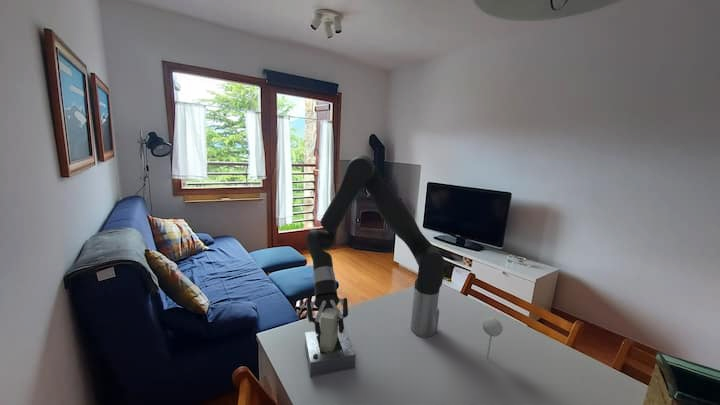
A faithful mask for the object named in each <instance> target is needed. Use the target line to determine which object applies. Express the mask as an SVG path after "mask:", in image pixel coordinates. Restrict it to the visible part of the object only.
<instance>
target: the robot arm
mask: <svg viewBox="0 0 720 405" xmlns="http://www.w3.org/2000/svg"><path fill="white" fill-rule="evenodd" d="M346 166H347V167H346V170H345V173H344V176H343V178H342V179H343V180H342V182H341V184H340V187H339V188H338V190H337V192H336V193H335V196H334V197H333V199H332V200H331V202H330V203H329V205H328V207H327V209H325V212H324V214H323V216H322V217H321V219H320V225H321V227H322V228H323V229H325V230H321V229H310V230H309V231H308V232H307V234H306V238H305V242H306V246H307V250H308V251H309V254H310V257H311V259H312V268H313V286H314V289H313V290H314V301H311V302H310V301H306V305H305V307H306V312H307V320H308V322H309V323H313V324H314V331H315V333H316V334H317V335H318V336H320V335H321V332H320V317H321V315H322V314H323V312H324V310H325V309H327V308H334V309H338V327H339V333H341V332H343V330H344V327H345V324H344V319H345V318H347V317H348V315H349V306H348V298H347V297H344V298H339V296H338V291H337V290H338V289H337V282H336V276H335V275H336V274H335V271H334V270H335V269H334V266H333V256H332V255H331V254H330V253H329V252H327V251H328V250H330V249H331V248H332V247H333V246H334V244H335V241H336V238H337V233H338V229H339V227H340V225H341V224H342V222H343V220H344V218H345V217H346V215H347V213H348V211H349V209H350V207H351V205H352V203H353V201H354V199H355V198H356V196H357V195H358V193H360V191H361V190H362V188H364V189H365V190H366V191H367V193H368V194H369V195H370V197H371V199H372V201H373V203H374V206H375V208H376V210H377V212H378V213H379V216H381V218H382V220H383V221H384V223H386V225H387V226H388V228H389V229H390V230H391V231H392V232H393V233H394V234H395V235H396V236H397V237H398V238H399V239H400V240H401V241H403V242H404V244H405V245H406V246H407V248H408V249H409V251H410V252H411V255H412V256H413V257H414V259H415V262H416V264H417V265H418V266H417V267H418V270H417V271H418V273H417V278H416V279H415V281H414V287H413V288H414V289H413V298H412V308H411V310H412V311H411V320H410V330H411V331H412V333H413V334H415V335H416V336H418V337H422V338H429V337H432V336H434V335H435V333H438V326H439V317H440V309H439V296H440V289H441V287H442V286H443V280H444V272H445V268H446V267H445V266H446V264H445V258H444V257H443V255H442V254H441V252H440V251H439V250H438V249H437V248H436V247H435V246H434V245H433V244H432V243H431V242H430V240H428V238H426V236H425V235H424V234H423V232H422V231H421V230H420V228H419V226H418V224H417V222H416V220H415V218H414V217H413V215H412V214H411V212H410V211H409V209H408V208H407V207H406V205H405V204H404V203H403V201H402V200H401V199H400V197H399V196H398V195H397V194H396V193H395V192H394V190H393V189H392V188H391V187H390V186H389V185H388V184H387V182H386V181H385V179H384V178H383V177H382V175H381V173H380V172H379V170H378V168H377V166H376V165H375V163H374V161H373V160H372V158H371V157H369V156H367V155H365V154H360V155H359V154H357V155H356V156H355V157H353V158H352V159H351V160H350V161H349V162H348V164H347V165H346ZM339 303H340V306H342V313H341V310H340V309H339V307H338V304H339ZM314 306H315V307H316V308H317V313H316V316H315V317H313V309H314Z"/></svg>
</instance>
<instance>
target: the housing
mask: <svg viewBox="0 0 720 405" xmlns="http://www.w3.org/2000/svg"><path fill="white" fill-rule="evenodd" d="M349 336H350V335H349V334H348V332H347V329H346V327H345V326H344V330H343V332H341V333H339V326H338V340H337V344H336V346H335V348H336V349H337V351H333V352H332V353H326V352H325V353H322V352H321V351H320V336H318V335H317V334H316V333H315V330H313V331H312V330H311V331H306V332H304V349H305V354H306V360H307V366H308V372H309V377H310V378H313V377H318V376H323V375H327V374H333V373H337V372H343V371H348V370H352V369H356V355H357V353H356V351H355V348H354V347H353V344H352V341H351V339H350V337H349Z"/></svg>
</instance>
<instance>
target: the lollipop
mask: <svg viewBox="0 0 720 405" xmlns="http://www.w3.org/2000/svg"><path fill="white" fill-rule="evenodd" d="M481 324H482V330H484V332H485V334H487V335H488V336H489V340H488V341H489V342H488V346H487V354H486V360H488V359H489V354H490V347H491V342H492V337H498V336H500V335H501V334H502V333H503V331H504V330H503V329H504V327H503V325H502V323H501V321H500V320H499V319H497V318H496V317H492V316H489V317H486V318H485V319H483V321H482V323H481Z"/></svg>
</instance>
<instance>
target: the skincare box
mask: <svg viewBox="0 0 720 405" xmlns="http://www.w3.org/2000/svg"><path fill="white" fill-rule="evenodd" d="M338 320H339V319H338V309H334V308H327V309H325V310H324V312H323V313H322V314H321V316H320V319H319V322H320V332H321V335H320V348H319V349H320V353H325V354H326V353H332V352H335V351H334V350H335V349H336V344H337V340H338V327H339V326H338Z"/></svg>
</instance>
